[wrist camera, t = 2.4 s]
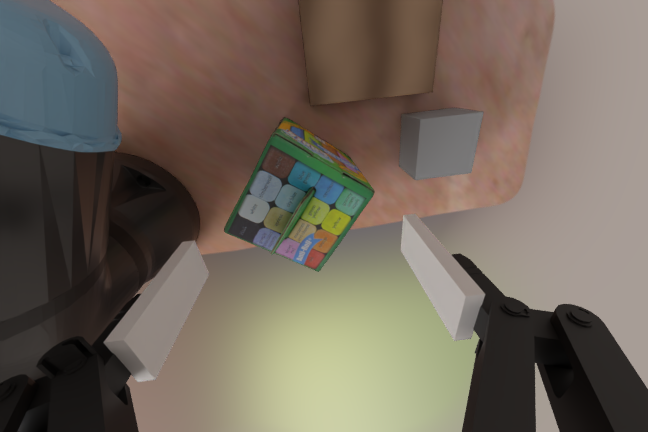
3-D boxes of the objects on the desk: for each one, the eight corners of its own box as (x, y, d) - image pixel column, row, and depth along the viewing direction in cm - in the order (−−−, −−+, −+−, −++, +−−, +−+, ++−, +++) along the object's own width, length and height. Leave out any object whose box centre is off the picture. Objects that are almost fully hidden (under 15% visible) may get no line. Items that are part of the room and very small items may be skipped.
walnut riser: (310, 104, 25) (310, 105, 23) (291, -58, 19) (290, -76, 17) (421, 91, 26) (432, 92, 23) (436, -72, 20) (453, -91, 18)
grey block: (398, 166, 30) (415, 180, 25) (401, 113, 27) (420, 119, 22) (446, 160, 30) (471, 172, 25) (454, 107, 27) (483, 111, 22)
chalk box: (314, 215, 32) (322, 305, 19) (248, 183, 29) (205, 262, 16) (353, 156, 28) (396, 215, 15) (284, 112, 26) (264, 140, 13)
